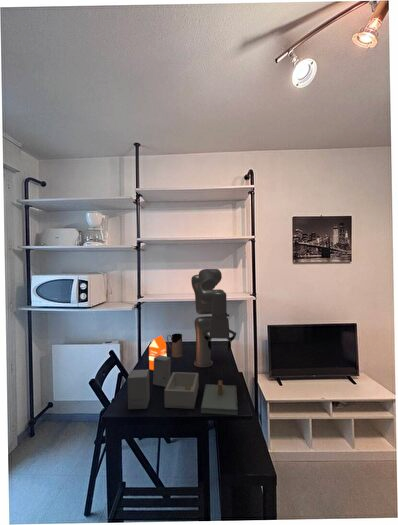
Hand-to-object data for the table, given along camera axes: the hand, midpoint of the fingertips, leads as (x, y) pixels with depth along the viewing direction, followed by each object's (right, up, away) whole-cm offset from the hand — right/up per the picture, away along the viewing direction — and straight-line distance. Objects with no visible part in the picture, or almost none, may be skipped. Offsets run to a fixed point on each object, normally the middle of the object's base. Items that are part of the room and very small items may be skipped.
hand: (219, 348), depth 129 cm
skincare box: (-31, -24, +13) cm, 42 cm away
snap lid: (0, -24, -5) cm, 24 cm away
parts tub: (-19, -24, -1) cm, 30 cm away
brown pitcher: (-29, -24, +58) cm, 69 cm away
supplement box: (-40, -24, -7) cm, 47 cm away
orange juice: (-37, -24, +35) cm, 56 cm away
